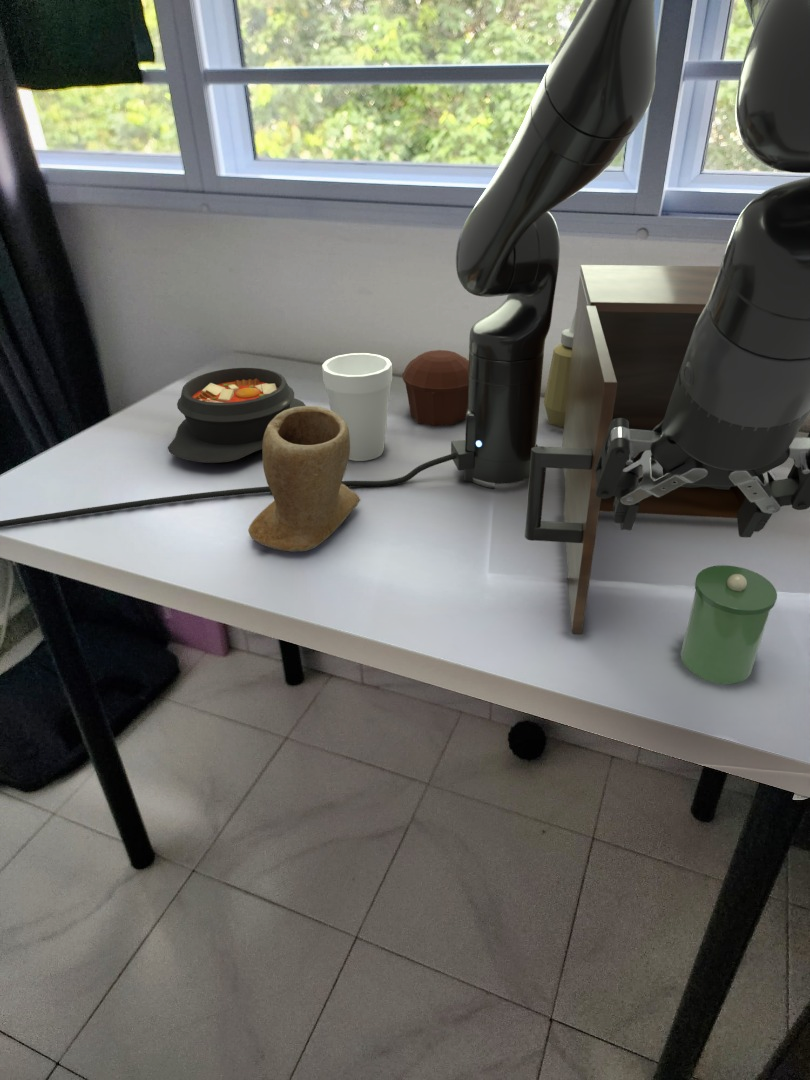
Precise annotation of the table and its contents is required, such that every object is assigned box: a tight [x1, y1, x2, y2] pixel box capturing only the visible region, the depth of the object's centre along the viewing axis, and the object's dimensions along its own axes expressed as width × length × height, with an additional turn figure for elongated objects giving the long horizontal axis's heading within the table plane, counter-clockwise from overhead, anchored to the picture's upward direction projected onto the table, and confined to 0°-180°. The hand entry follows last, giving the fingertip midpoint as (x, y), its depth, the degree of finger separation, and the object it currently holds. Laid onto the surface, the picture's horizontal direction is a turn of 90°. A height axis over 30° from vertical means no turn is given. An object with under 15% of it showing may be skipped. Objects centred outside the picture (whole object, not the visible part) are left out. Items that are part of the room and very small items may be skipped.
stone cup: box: [247, 405, 361, 552], centre depth 87 cm, size 15×12×15 cm
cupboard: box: [561, 264, 746, 519], centre depth 91 cm, size 17×22×26 cm
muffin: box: [402, 349, 469, 427], centre depth 116 cm, size 12×11×10 cm
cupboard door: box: [524, 306, 617, 635], centre depth 76 cm, size 6×22×26 cm, turn 172°
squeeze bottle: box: [543, 310, 576, 428], centre depth 110 cm, size 8×8×18 cm
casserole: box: [167, 367, 307, 464], centre depth 111 cm, size 25×19×8 cm
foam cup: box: [321, 352, 393, 462], centre depth 105 cm, size 10×9×13 cm
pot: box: [680, 564, 778, 685], centre depth 67 cm, size 7×7×10 cm
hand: (683, 523), depth 56 cm, fingers open, 8 cm apart
